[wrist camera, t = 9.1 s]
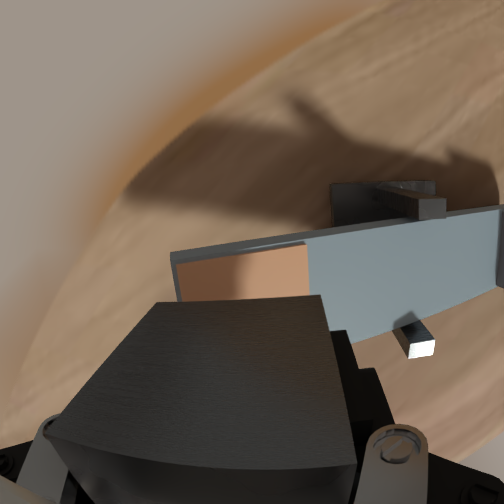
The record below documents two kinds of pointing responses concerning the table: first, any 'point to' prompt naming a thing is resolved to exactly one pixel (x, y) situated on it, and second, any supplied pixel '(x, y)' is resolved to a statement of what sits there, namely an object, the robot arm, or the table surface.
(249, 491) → the iron block
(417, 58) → the table surface
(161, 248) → the table surface
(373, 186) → the stand
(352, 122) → the table surface
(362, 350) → the table surface
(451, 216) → the beam
